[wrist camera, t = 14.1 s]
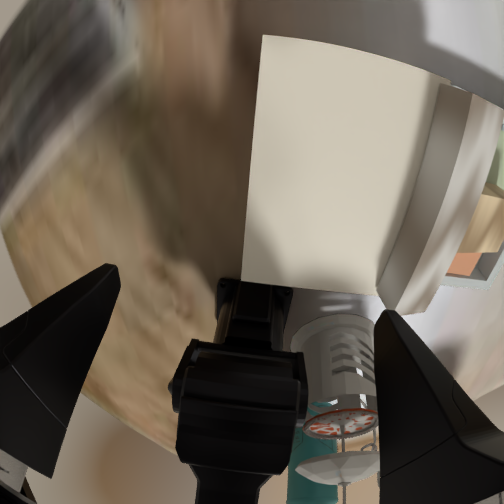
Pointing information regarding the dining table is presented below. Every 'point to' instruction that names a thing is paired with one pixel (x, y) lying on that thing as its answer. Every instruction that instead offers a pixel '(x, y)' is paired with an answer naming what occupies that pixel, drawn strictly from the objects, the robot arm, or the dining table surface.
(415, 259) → the scraper
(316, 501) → the beverage bottle
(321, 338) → the french press
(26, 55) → the dining table surface
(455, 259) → the terracotta tile
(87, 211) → the dining table surface
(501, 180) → the sage tile
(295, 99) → the cream riser block
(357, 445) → the dining table surface
